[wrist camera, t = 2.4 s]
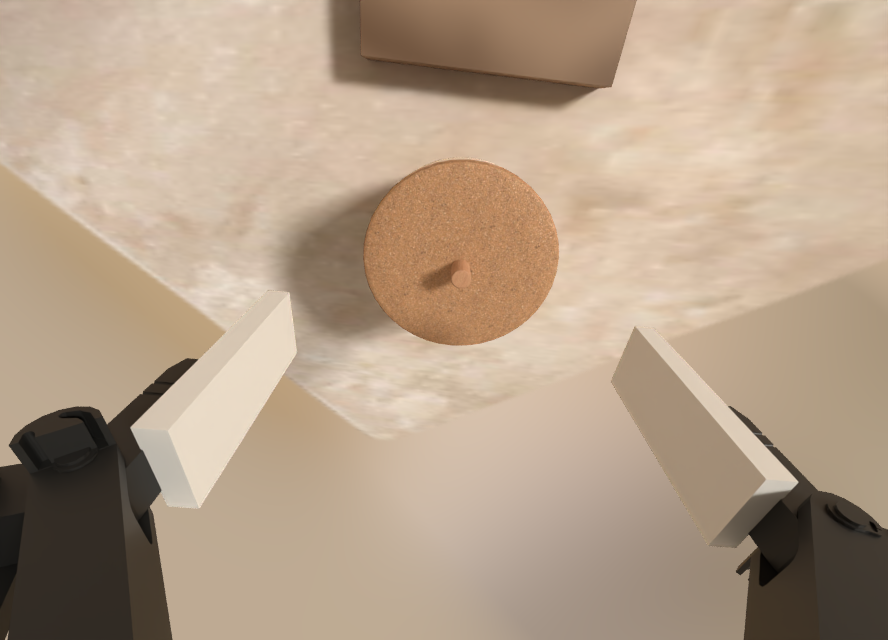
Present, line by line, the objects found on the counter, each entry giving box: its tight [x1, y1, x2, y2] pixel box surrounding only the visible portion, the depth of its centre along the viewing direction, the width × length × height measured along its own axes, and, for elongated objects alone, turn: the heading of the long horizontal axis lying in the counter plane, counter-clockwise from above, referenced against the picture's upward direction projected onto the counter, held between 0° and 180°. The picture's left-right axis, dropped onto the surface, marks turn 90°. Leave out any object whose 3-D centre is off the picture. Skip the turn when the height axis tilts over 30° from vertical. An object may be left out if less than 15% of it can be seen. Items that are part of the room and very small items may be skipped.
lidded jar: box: [363, 157, 559, 345], centre depth 22 cm, size 11×11×9 cm
